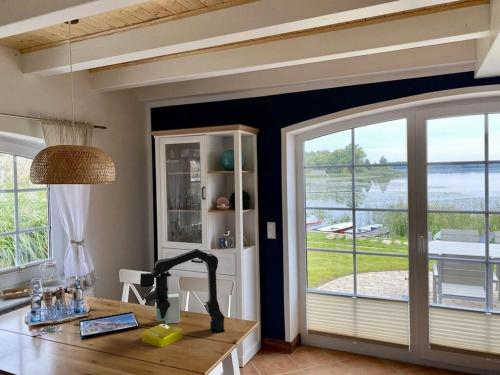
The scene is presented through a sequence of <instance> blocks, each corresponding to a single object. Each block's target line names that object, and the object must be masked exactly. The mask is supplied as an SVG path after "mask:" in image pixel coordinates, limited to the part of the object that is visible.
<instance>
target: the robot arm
mask: <svg viewBox="0 0 500 375" xmlns="http://www.w3.org/2000/svg"><path fill="white" fill-rule="evenodd" d="M195 259H198V260H201V261H203V262H204V263H205V267H206V271H207V281H208V282H207V286H208V287H207V288H208V301H205V311H206V312H207V314H208V315H209V317H211V318H210V321H209V330H210V331H211V332H212V334H216V333H225V332H226V330H225V315H224V313H223V312H222V311H221V309H220V304H219V302H218V293H217V292H218V291H217V289H218V287H217V270H218V264H219V260H218V259H219V258H218V257H217V256H216V255H215V254H213V253H207V252H205V251H202V250H200V249H199V248H195V249H192V250H190V251H187V252H185V253H181V254H179V255H176V256H172V257H169V258H162V259H158V260H156V262H155V263H154V267H153V269H152V270H151V272H148V273H147V272H146V273H145V272H144V273H142V272H141V273H140V275H139V276H140V279H139V285H140V286H139V287H140V289H141V288H143V289H144V288H153V286H154V285H155V287H154V290H152V291H150V292H147V293H145V294H144V295H143V298H144V300H145V303H146V304H149V303H150V302H152V301H155V302H154V303H155V304H156V305H155V306H156V310H157V309H159V310H160V314H161V318H162V319H164V317H165V315H166V312H167V310H168V308H169V307H170V301H169V300H167V299H168V294H169V292H168V291H169V287H168V286H169V285H168V284H169V283H168V278H169V277H172V274H171V273H170V272H169V271H170V270H172V268H174V267H176V266H178V265H181V264H184V263H186V262H188V261H192V260H195Z"/></svg>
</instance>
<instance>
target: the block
mask: <svg viewBox="0 0 500 375" xmlns="http://www.w3.org/2000/svg"><path fill="white" fill-rule="evenodd" d="M165 320H168V310H167V312H166V315H165V317H164V319H162V318H161V314H160V310H159V309H157V308H156V321H157V322H163V321H164V322H165Z"/></svg>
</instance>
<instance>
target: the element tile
mask: <svg viewBox="0 0 500 375" xmlns="http://www.w3.org/2000/svg"><path fill="white" fill-rule="evenodd" d="M182 338H183V328H181V327H178V326H175V325H174V326H173V325H171V324H165V322H164V323H160V324H158V325H155V326H153V327H151V328H148V329H146V330H144V331H142V332H141V341H142V342H144V343H147V344H150V345H153V346H156V347H158V348H163V347H166V346H168V345H170V344H172V343H174V342H176V341H177V340H180V339H182Z"/></svg>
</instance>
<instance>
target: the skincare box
mask: <svg viewBox="0 0 500 375" xmlns="http://www.w3.org/2000/svg"><path fill="white" fill-rule="evenodd" d="M167 300H169V301H170V307H169V308H168V320H164V324H168V325H171V324H176V323H178V324H179V323H181V318H180V317H181V316H180V314H181V313H180V295H179V293H177V292H176V293H170V294H169V293H168V299H167Z"/></svg>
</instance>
